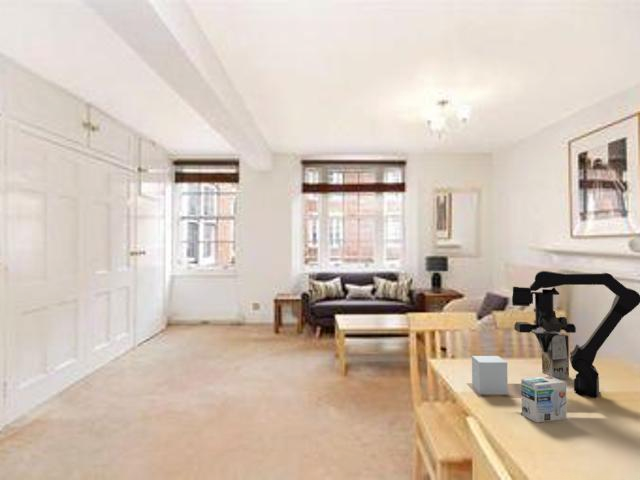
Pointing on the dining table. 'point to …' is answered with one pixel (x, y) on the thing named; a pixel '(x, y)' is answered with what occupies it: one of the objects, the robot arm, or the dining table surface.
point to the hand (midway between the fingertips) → (544, 352)
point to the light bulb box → (543, 399)
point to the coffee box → (557, 357)
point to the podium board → (513, 392)
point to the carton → (489, 375)
